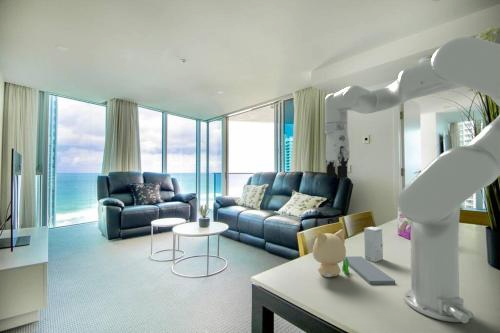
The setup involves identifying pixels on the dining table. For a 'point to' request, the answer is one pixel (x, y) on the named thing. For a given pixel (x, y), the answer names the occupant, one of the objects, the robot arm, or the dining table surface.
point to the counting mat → (368, 271)
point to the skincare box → (373, 244)
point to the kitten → (330, 253)
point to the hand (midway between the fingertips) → (336, 177)
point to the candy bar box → (403, 225)
